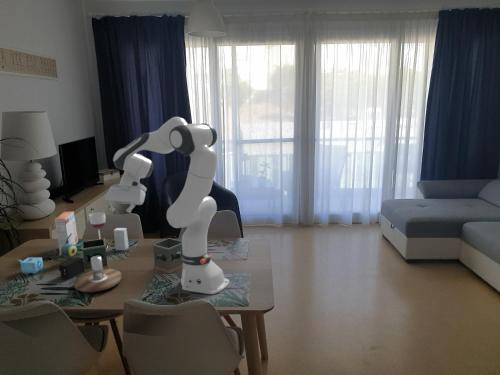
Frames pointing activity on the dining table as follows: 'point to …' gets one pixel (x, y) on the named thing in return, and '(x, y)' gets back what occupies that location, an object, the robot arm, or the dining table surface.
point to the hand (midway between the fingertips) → (119, 211)
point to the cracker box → (66, 229)
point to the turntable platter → (97, 281)
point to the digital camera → (71, 268)
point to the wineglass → (97, 220)
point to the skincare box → (121, 239)
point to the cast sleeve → (97, 267)
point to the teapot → (31, 265)
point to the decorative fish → (70, 249)
